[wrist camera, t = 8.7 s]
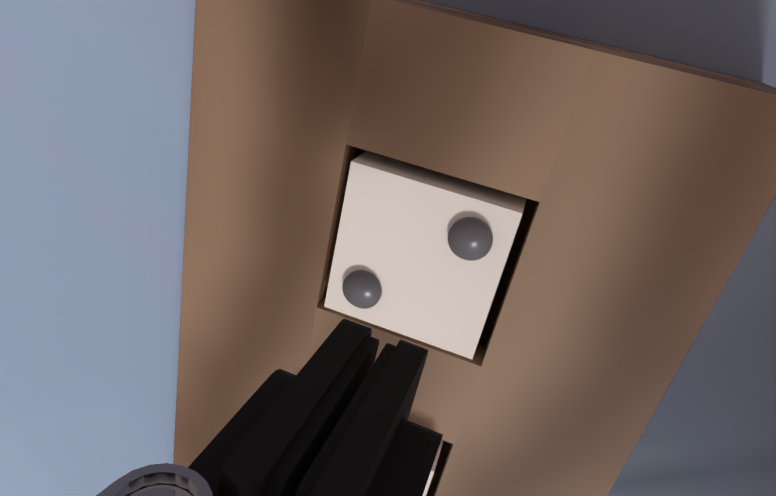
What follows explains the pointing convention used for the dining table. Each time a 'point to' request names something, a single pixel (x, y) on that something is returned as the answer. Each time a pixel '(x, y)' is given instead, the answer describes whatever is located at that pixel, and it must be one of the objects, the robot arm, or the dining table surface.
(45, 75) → the dining table surface
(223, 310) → the button board
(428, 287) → the button two
